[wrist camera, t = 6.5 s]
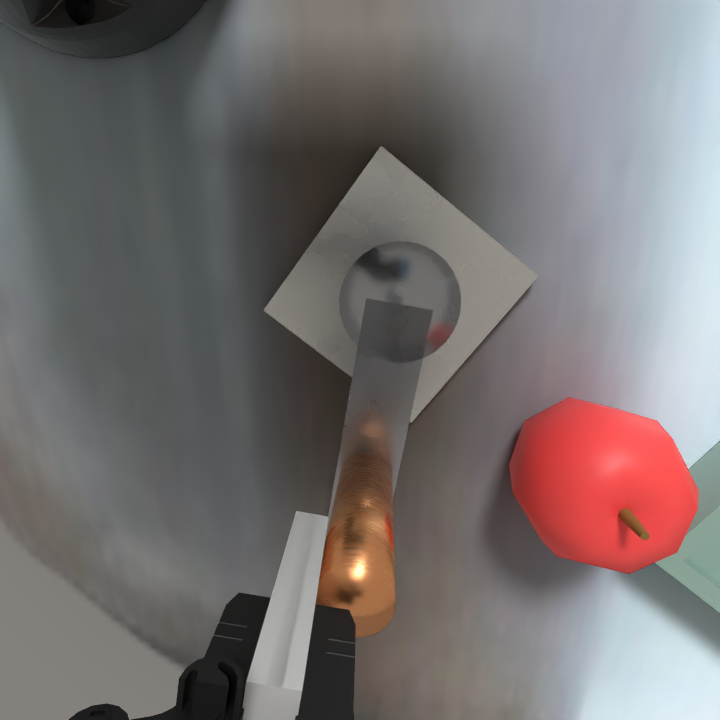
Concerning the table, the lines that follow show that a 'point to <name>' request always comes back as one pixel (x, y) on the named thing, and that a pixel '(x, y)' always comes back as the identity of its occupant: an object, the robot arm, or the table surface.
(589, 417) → the apple
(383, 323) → the crank
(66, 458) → the table surface
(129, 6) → the robot arm
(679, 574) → the tray
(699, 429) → the table surface
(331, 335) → the crank post
